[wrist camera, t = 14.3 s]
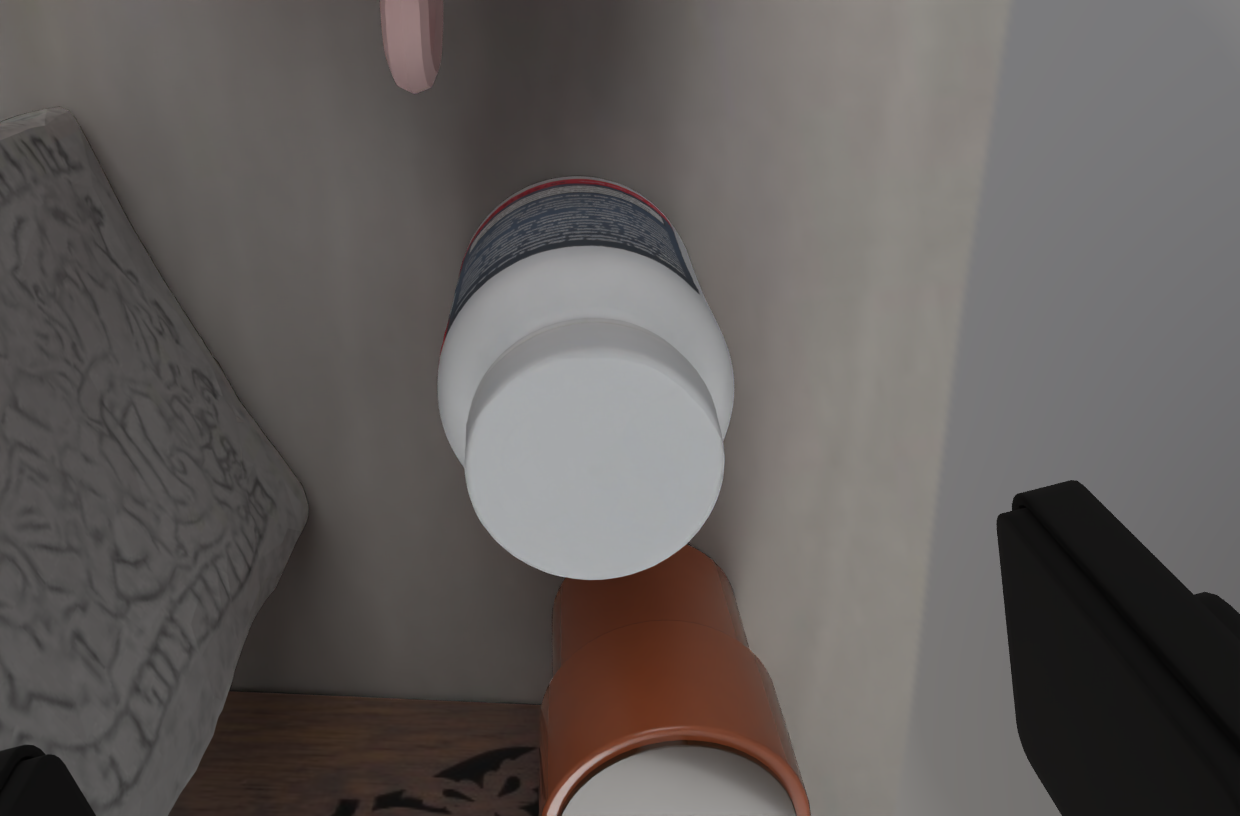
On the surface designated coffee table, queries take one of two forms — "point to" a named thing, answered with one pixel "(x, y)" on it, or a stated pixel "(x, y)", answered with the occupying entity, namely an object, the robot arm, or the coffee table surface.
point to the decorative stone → (117, 490)
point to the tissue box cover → (366, 758)
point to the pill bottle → (585, 381)
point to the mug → (412, 41)
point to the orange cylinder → (661, 702)
